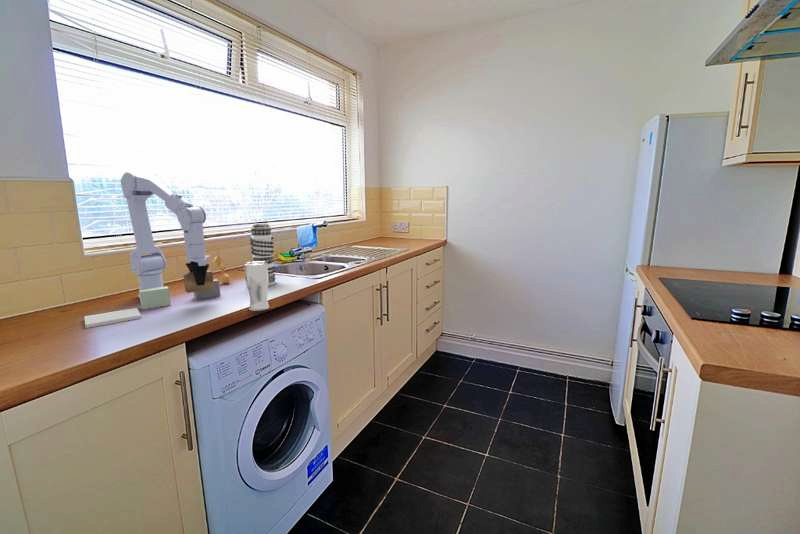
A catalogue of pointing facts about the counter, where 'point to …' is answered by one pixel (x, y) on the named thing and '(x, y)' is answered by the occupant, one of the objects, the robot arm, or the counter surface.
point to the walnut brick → (192, 286)
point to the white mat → (111, 317)
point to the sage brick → (154, 297)
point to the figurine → (222, 270)
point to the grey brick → (208, 292)
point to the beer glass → (257, 285)
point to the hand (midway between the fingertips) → (199, 284)
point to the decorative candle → (263, 248)
